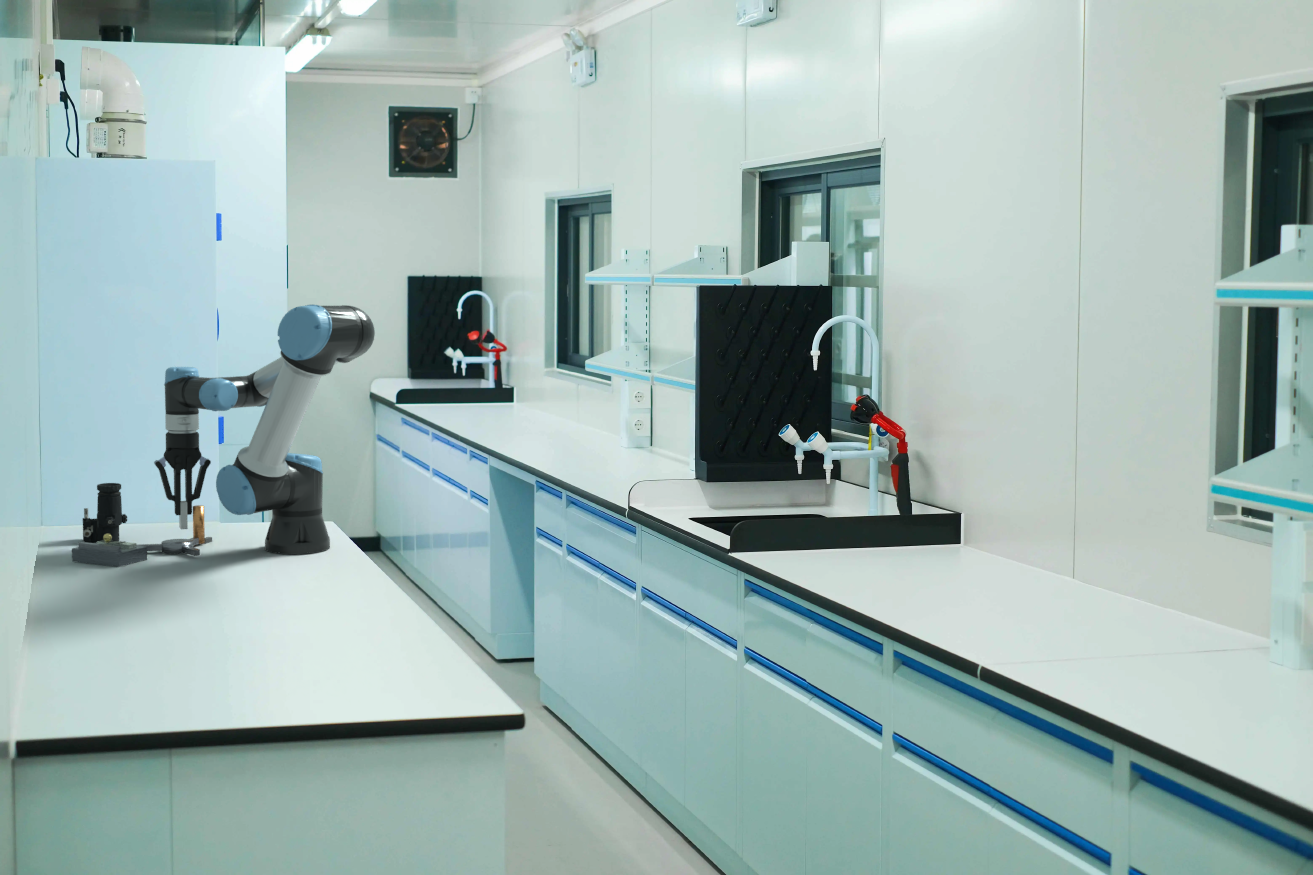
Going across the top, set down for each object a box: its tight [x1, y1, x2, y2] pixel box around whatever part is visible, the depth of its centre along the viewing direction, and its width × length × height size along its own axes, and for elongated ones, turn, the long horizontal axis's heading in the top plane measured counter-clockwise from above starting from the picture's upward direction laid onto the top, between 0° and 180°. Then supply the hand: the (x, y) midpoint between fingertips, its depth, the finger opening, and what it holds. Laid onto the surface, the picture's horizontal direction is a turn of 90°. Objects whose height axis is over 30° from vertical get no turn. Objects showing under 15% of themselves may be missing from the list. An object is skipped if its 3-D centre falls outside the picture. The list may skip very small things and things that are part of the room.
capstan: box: [136, 504, 206, 557], centre depth 303 cm, size 16×17×9 cm
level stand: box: [71, 534, 148, 568], centre depth 290 cm, size 13×9×6 cm
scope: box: [82, 482, 128, 543], centre depth 311 cm, size 8×14×10 cm
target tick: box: [204, 536, 213, 544], centre depth 313 cm, size 3×1×1 cm, turn 168°
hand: (183, 528), depth 309 cm, fingers closed
